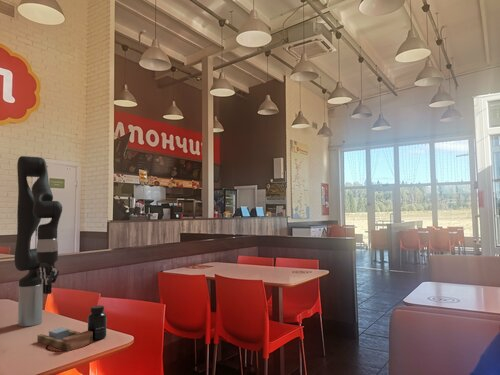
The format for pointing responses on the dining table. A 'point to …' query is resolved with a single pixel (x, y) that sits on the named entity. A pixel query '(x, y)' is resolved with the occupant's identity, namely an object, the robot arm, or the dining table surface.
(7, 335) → the dining table surface
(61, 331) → the block
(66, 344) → the track
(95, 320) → the supplement bottle
